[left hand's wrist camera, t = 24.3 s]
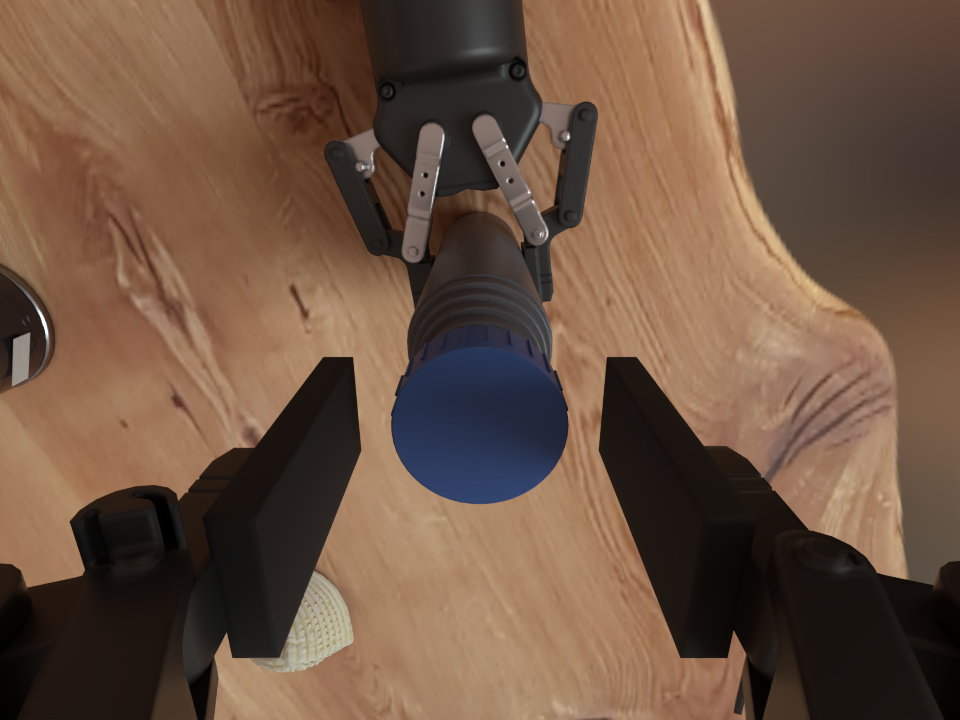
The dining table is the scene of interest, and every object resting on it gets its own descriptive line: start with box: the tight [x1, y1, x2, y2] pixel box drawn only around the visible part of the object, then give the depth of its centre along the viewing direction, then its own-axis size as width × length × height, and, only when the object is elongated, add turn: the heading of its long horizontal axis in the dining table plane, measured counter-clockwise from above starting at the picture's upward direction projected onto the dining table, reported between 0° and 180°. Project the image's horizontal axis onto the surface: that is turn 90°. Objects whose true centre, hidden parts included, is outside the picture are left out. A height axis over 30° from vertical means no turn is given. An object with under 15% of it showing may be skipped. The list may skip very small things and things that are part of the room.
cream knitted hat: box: [250, 571, 354, 673], centre depth 44 cm, size 8×8×8 cm
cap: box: [391, 325, 568, 504], centre depth 14 cm, size 4×4×2 cm
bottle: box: [407, 212, 552, 363], centre depth 25 cm, size 5×5×24 cm
